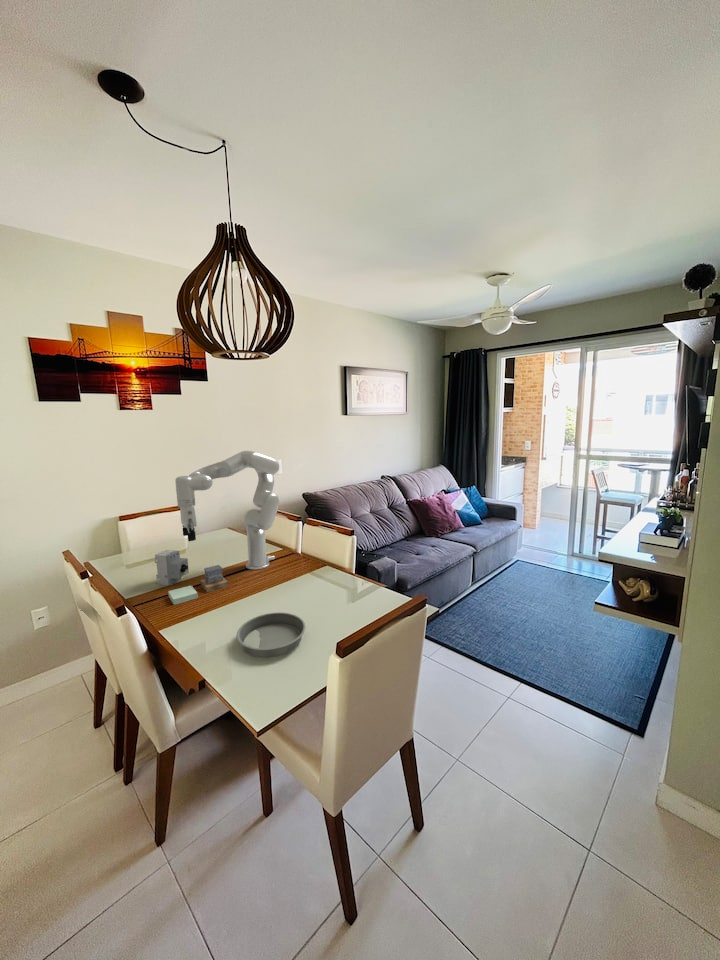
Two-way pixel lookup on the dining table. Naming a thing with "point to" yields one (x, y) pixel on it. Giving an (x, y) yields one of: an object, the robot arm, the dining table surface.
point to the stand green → (182, 594)
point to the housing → (213, 574)
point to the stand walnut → (214, 585)
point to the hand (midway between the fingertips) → (189, 537)
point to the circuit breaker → (170, 567)
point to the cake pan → (273, 634)
